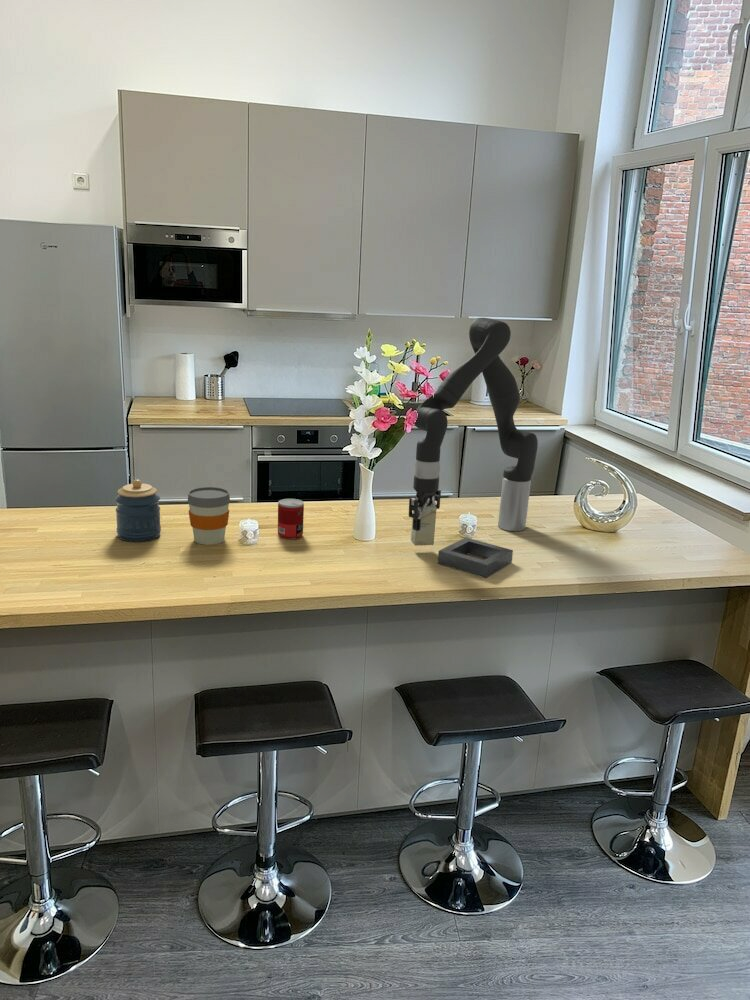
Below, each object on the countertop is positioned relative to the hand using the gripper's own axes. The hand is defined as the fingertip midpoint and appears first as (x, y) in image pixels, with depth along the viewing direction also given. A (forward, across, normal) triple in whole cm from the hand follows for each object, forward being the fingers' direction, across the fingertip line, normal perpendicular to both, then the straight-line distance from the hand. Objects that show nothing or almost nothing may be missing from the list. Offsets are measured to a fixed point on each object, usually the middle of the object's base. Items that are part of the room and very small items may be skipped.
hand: (423, 526), depth 235 cm
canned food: (+8, +18, -38) cm, 43 cm away
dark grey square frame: (+8, -3, +17) cm, 19 cm away
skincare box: (+5, 0, 0) cm, 5 cm away
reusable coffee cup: (+7, +38, -53) cm, 65 cm away
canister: (+7, +50, -71) cm, 87 cm away
